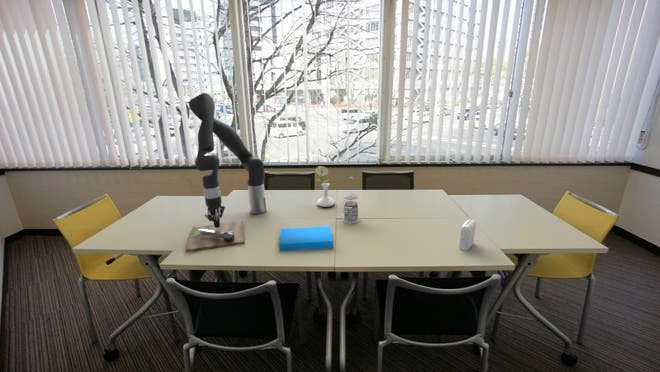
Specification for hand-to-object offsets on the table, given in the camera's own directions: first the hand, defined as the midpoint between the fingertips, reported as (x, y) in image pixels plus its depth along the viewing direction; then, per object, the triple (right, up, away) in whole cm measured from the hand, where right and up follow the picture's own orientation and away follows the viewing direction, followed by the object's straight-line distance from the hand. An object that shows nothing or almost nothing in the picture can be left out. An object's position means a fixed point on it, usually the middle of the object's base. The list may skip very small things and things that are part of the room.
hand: (217, 227), depth 157 cm
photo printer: (+120, -7, -16) cm, 122 cm away
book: (+46, -6, -8) cm, 47 cm away
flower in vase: (+54, +9, +37) cm, 66 cm away
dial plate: (+1, -5, -2) cm, 5 cm away
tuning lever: (+2, -4, -6) cm, 8 cm away
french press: (+69, +2, +14) cm, 70 cm away
